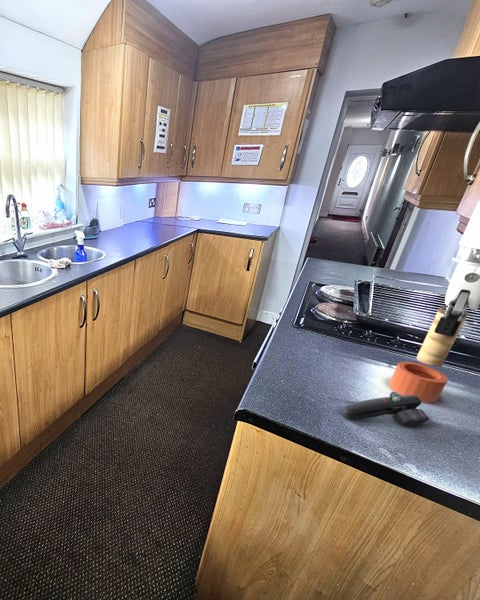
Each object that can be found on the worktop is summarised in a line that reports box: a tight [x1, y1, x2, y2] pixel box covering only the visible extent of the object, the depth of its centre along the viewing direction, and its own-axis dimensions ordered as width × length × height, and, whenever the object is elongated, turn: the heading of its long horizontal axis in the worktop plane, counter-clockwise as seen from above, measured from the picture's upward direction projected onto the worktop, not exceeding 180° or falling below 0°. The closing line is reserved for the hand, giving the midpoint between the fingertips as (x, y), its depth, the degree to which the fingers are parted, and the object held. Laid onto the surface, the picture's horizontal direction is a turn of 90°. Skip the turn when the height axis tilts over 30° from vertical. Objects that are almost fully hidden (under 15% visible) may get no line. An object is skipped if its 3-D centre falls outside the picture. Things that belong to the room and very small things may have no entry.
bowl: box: [388, 361, 449, 404], centre depth 83 cm, size 9×9×7 cm
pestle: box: [416, 305, 469, 368], centre depth 78 cm, size 5×5×14 cm
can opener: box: [342, 390, 430, 427], centre depth 75 cm, size 18×7×6 cm, turn 91°
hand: (444, 330), depth 77 cm, fingers closed on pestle, 4 cm apart
